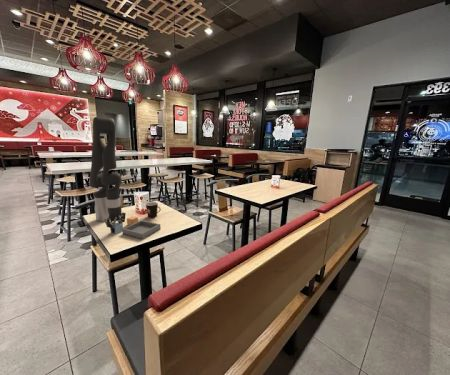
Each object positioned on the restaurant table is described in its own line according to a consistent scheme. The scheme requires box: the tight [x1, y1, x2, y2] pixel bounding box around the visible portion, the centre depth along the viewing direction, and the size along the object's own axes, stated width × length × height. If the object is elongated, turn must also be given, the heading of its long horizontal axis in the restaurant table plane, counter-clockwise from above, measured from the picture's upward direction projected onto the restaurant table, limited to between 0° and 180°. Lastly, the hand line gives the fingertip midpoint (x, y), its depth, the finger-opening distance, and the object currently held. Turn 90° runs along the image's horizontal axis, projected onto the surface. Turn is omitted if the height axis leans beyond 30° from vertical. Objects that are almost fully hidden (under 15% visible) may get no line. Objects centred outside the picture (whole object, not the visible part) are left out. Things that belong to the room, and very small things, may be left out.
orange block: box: [126, 215, 139, 226], centre depth 146 cm, size 5×5×5 cm
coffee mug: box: [145, 201, 162, 219], centre depth 160 cm, size 12×9×10 cm
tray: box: [121, 219, 161, 240], centre depth 136 cm, size 16×16×4 cm
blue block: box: [109, 222, 124, 235], centre depth 134 cm, size 5×5×5 cm
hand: (116, 230), depth 135 cm, fingers closed on blue block, 5 cm apart
